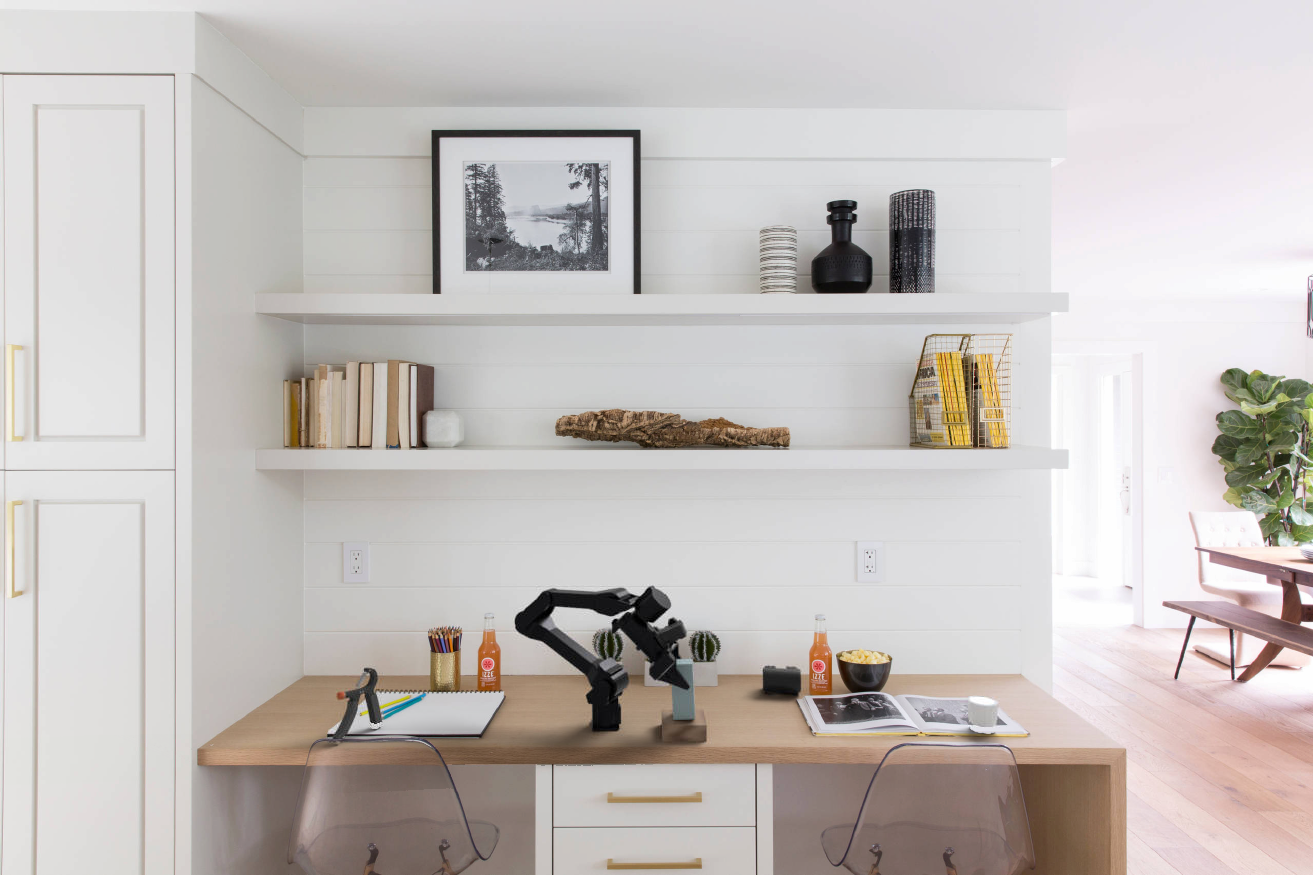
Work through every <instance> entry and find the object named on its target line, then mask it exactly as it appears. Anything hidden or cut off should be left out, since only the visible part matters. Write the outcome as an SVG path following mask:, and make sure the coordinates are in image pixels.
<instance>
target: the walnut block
mask: <svg viewBox="0 0 1313 875" xmlns="http://www.w3.org/2000/svg"><path fill="white" fill-rule="evenodd" d="M707 728H708V727H707V721H706V715H705V710H704V709H703V708H702V709H701V708H700V709H699V708H695V719H686V720H673V708H671V709H668V708H667V709H661V735H662V736H661V737H662V738H661V740H662V742H707V740H708V739H707V737H708V736H707V733H708V732H707Z"/></svg>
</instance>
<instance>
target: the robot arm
mask: <svg viewBox="0 0 1313 875" xmlns="http://www.w3.org/2000/svg"><path fill="white" fill-rule="evenodd" d="M556 607H558V608H570V609H581V610H582V609H583V610H584V609H585V610H591V611H594V612H595V613H597V614H599V615H603V616H607V617H610V618H611V617H615V616H617V615H619V614H622V613H624V612H625V613H624V614H622V615H621V616H620V617H619V618H613V619H612V620H611V623H610V624H611V634H612V635H614V634H616V632H618V631H619V630H620V632H622V633H623V634H624V635H625V636H626V637H627V638H628V639H629V640H630V641H631V642H632V643H633V644H634V645H635V649H636V651H637V652H639V651H640V652H642V653H643V654H644V656H646V658H647V659H648V660H647V661H648V663H649V664H650V665H649V669H648V675H649V676H650V677H651V678H652V679H653V681H658V682H659V681H660V682H663V683H665V684H669V685H671V686H672V685H674V686H677V687H680V688H682V689H685V690H688V689H689V688H690V686H689V684H688V683H687V681H686V680H685V678H684V677H683V676H682V674H681V673H680V671H679V670H678V669H677V659H683V658H682V655H681V654H680V643H679V642H678V640H683V639H685V638H686V637H687V636H688V634H687V632H688V631H687V629H686V628H685V625H684V623H683V622H684V621H682V620H681V619H679V620H678V619H677V618H675V617H674V616H672V617H671V618H668V619H667V625H665V626H664V627H663V628H660V627H658V626H657V625H656V626H655V625H654V626H652V625H651V624H655V622H657V620H659V619H660V618H661V617H662V616H663V615H664V614H665V613H667V611H669V610H670V609H671V607H672V602H671V600H670V598H669V597H668V595H667V594H666V593H664V592H663V591H662V590H660V589H658V588H656V587H655V585H649V586H648V587H647V588H646V589H645V590H644V592H643V593H642V594H641V595H636V594H633V593H631V592H629V591H628V589H627V588H624V587H615V588H608V589H603V590H597V591H593V590H591V591H589V590H577V589H576V590H575V589H558V588H555V587H553V588H549V589H546V590H543V591H541V593H540V594H539V595H538V596H537V597H536V598H535V600H533V601H532V602H531V603H530V604H529V605H527V607H525V608H524V609H523V610H521V611H519V612H518V613H517V614H516V615H515V617H514V626H515V627H514V628H515V630H516V632H518V633H519V634H520V635H522V636H524V637H525V638H528V639H530V640H534V641H538V642H542V643H543V644H545V645H546V646H547V647H548V648H550V649H551V650H552V651H554V652H555V653H556V654H558V655H559V656H560V657H561V658H563V659H564V660H565V661H567V662H568V663H569V664H571V665H572V666H573V667H575V669H577V670H578V671H580V672H581V673H583V675H584V676H585V677H586V678H587V681H588V683H589V685H590V687H591V690H589V691H588V692H587V693H586V694H585V698H586V702H587V704H588V705H591V720H590V721H591V722H590V723H591V731H593V732H594V731H595V732H596V731H597V732H598V731H599V732H600V731H613V730H614V731H617V730H620V725H621V724H622V705H621V703H619V702H620V701H619V697H622V696H623V693H624V691H625V690H626V689H627V688H628V686H629V682H630V680H629V679H630V678H629V673H628V671H627V670H626V669H625V668H624V667H625V666H624V665H622V664H620V663H618V662H617V661H616V659H614V658H613V657H611V656H610V657H608V658H606V659H604V660H602V659H599V658H598V657H596V656H595V655H594V654H593V653H591V652H590V651H589V650H587V649H586V648H585V647H583V646H582V645H581V644H580V643H578V642H577V641H575V640H574V639H572V637H570V636H569V635H568V634H566V633H565V632H564V631H562V630H561V629H559V628H558V627H557V626H556V624H555V622H554V620H553V617H552V616H551V615H552V614H553V612H554V611H555V608H556ZM632 609H634V610H632ZM629 610H632V611H629Z"/></svg>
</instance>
